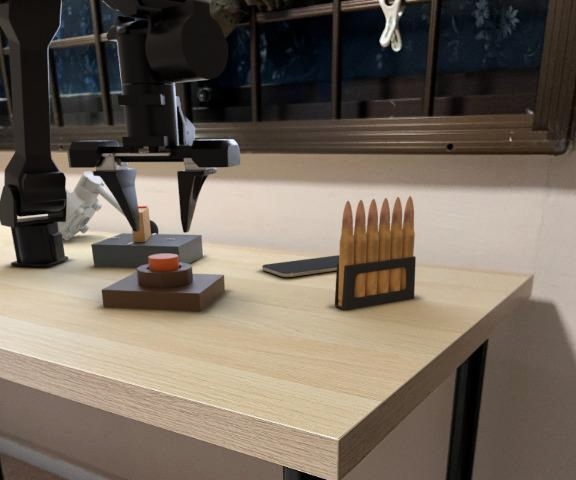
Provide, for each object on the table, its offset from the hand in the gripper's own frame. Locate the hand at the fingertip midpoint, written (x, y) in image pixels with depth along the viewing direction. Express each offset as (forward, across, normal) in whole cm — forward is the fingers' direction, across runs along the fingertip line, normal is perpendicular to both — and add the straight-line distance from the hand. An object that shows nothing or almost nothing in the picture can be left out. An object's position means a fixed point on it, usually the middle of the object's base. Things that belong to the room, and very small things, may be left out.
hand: (161, 231), depth 72 cm
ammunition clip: (+8, -26, -2) cm, 27 cm away
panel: (+8, +12, -22) cm, 27 cm away
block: (+5, +13, -22) cm, 26 cm away
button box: (+8, 0, 0) cm, 8 cm away
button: (+5, 0, 0) cm, 5 cm away
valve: (+8, +29, -42) cm, 51 cm away
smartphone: (+8, -16, -20) cm, 27 cm away
